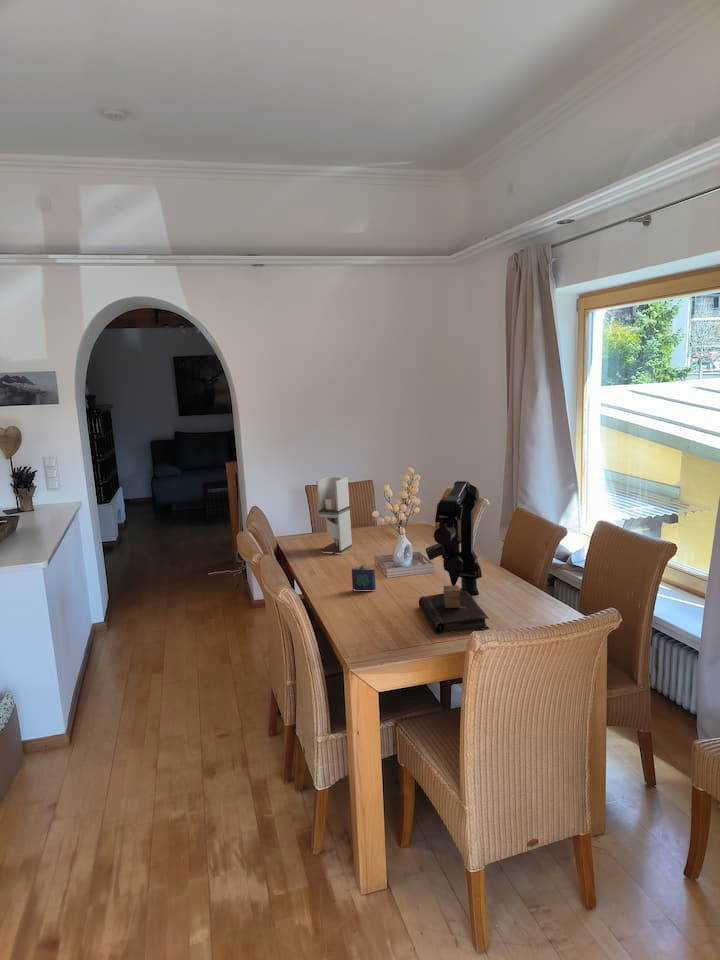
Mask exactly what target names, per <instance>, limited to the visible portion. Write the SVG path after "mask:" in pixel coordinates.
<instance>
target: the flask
mask: <svg viewBox="0 0 720 960" xmlns="http://www.w3.org/2000/svg"><path fill="white" fill-rule="evenodd" d="M365 566H366V563H362V564H360V566H355V567H352V568H351V581H352V583H351V584H352V590H353V589H355V590H375V589H376V590H377V585H376V573H375V572H376V569H375V567H365Z"/></svg>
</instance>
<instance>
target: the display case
mask: <svg viewBox="0 0 720 960" xmlns="http://www.w3.org/2000/svg"><path fill="white" fill-rule="evenodd" d="M348 479H349V478H348V477H347V476H346V477H345V476H343V477H342V476H338V477H337V476H327V477H324V478H322V479H318V480H316V493H317V495H316V496H317V507H318V517H319V518H325V522H326V523H325V524H326V525H325V526H326V533H327V534H328V535H329V536H330V537H332V538H333V542H332V543H330V544H328V545H326V546H325V547H323V548H321V552H322V551H323V552H333V553H343V552H344V551H346V550H348V549H350V548H351V547H352V548H353V539H352V536H353V535H352V525H351V523H352V521H351V513H350V512H351V510H350V494H349V493H350V492H349V480H348ZM350 550H351V549H350Z"/></svg>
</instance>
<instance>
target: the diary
mask: <svg viewBox="0 0 720 960" xmlns="http://www.w3.org/2000/svg"><path fill="white" fill-rule="evenodd" d="M418 606H419V608H420V609H421V611H422V613H423V614H424V616H425V618H426V619H427V622H428V621H429V622H428V624H430V627H431V628H432V630H433V632H434V633H435V635H436V636H437V634H438V630H439V632H440V633H441V634H443V632H444V633H445V632H446V633H452V632H453V633H455V632H464V631H465V632H466V631H472V630H477V631H485V630H488V629H490V627H489V626H488V625H487V623H486V619H488V620H489V617H488V616H487V614H486V613H485V611H484V610H483V609H482V608H481V607H480V606H479V604H478V603H477V602H476V600H475V599H474V598H473V596H472V595H470V594H469V593H468V592H467V591H461V592H460V608H445V604H444V592H443V593H438V594H431V595H426V596H420V597H419V600H418ZM485 626H486V627H485ZM482 628H484V629H482Z"/></svg>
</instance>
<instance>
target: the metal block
mask: <svg viewBox="0 0 720 960" xmlns="http://www.w3.org/2000/svg"><path fill="white" fill-rule="evenodd" d="M443 593H444V604H445V608H460V587H459V585H458V584H456V585H455V586H452V585H443Z"/></svg>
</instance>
